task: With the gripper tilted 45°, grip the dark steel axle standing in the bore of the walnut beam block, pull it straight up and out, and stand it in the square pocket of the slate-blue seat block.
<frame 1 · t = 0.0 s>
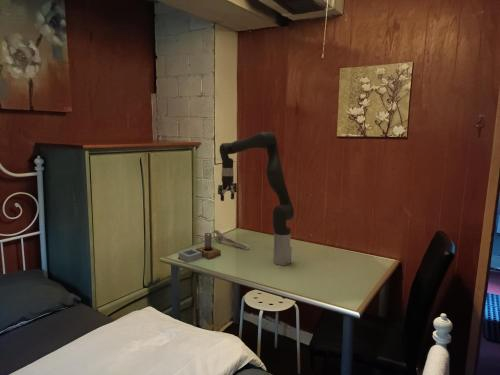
hand: (227, 200, 233), 29 cm above the table, tool pointing down, fingers open, 8 cm apart
beam block: (208, 254, 218), on the table
seat block: (190, 258, 212), on the table
axle: (208, 255, 218), resting in beam block
wrench: (230, 246, 236), on the table
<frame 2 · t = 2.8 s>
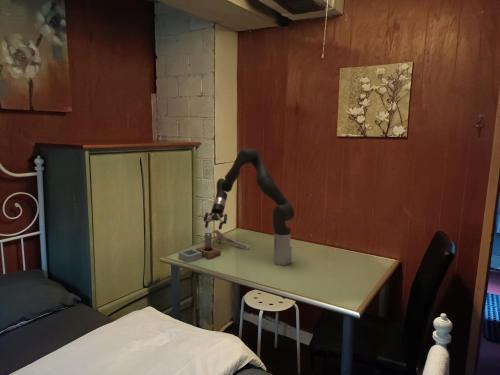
hand: (212, 228, 223), 14 cm above the table, tool tilted 45°, fingers open, 8 cm apart
nothing on the table moved.
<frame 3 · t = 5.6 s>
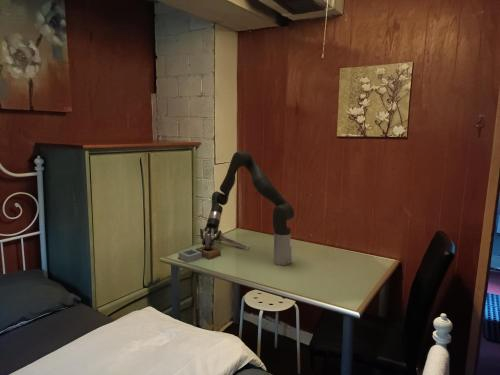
hand: (207, 245, 215), 7 cm above the table, tool tilted 45°, fingers closed on axle, 4 cm apart
axle: (208, 255, 218), resting in beam block, touching gripper
everything else where it was.
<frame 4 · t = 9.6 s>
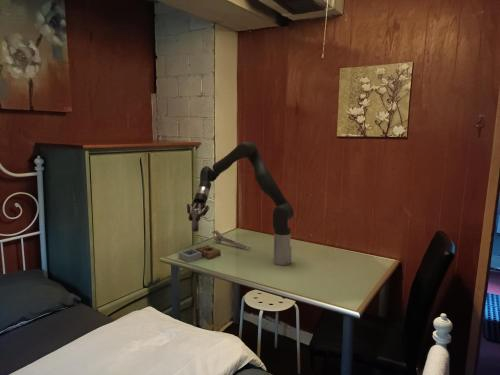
hand: (193, 220, 209), 22 cm above the table, tool tilted 45°, fingers closed on axle, 4 cm apart
axle: (195, 230, 212), point 16 cm above the table, touching gripper
everything else where it was.
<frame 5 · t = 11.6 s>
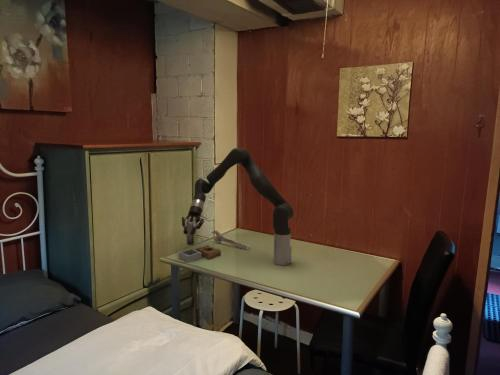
hand: (188, 233, 208), 15 cm above the table, tool tilted 45°, fingers closed on axle, 4 cm apart
axle: (190, 243, 211), point 9 cm above the table, touching gripper
everything else where it was.
when the fingers open (8 cm above the table, at t = 13.6 s): axle drops 1 cm, resting in seat block.
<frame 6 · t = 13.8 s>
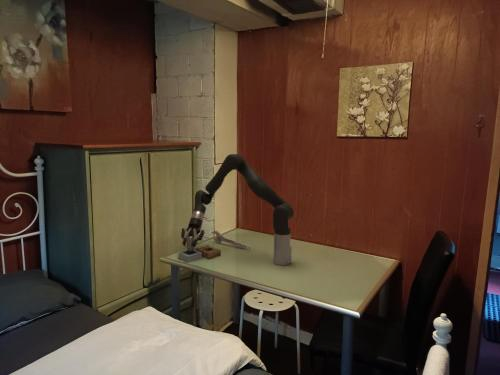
hand: (188, 245, 209), 8 cm above the table, tool tilted 45°, fingers open, 5 cm apart
axle: (190, 258, 212), resting in seat block
everything else where it was.
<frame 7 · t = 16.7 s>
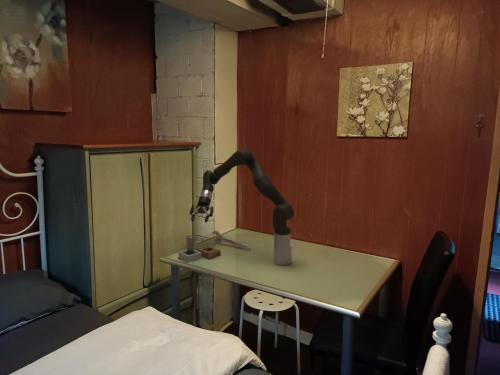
hand: (198, 221, 221), 19 cm above the table, tool tilted 45°, fingers open, 8 cm apart
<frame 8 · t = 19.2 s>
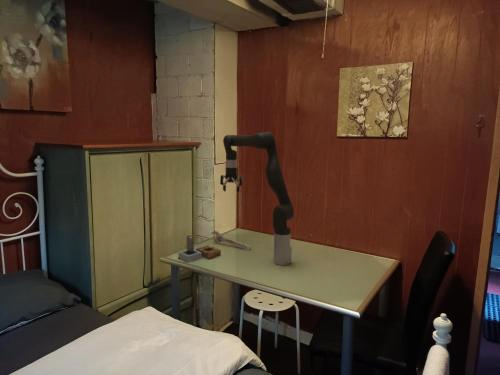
hand: (231, 191, 236), 34 cm above the table, tool pointing down, fingers open, 8 cm apart
at the end: axle 0.2 cm off-centre on the seat block, point 0.0 cm above the seat block's base; axle tilted 0°; the gripper is holding nothing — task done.
